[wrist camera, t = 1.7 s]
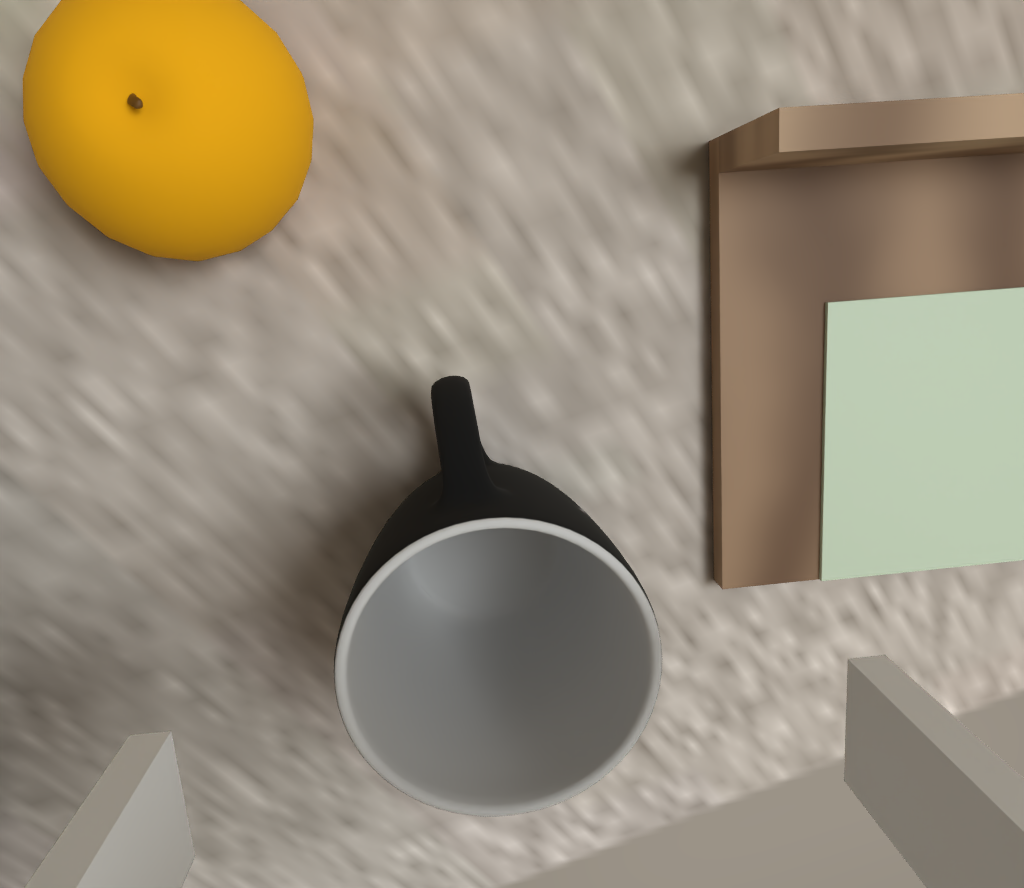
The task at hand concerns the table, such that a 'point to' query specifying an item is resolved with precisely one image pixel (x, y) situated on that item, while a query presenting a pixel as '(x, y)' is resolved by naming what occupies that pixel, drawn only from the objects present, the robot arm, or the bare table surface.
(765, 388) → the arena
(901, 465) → the pad
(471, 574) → the mug
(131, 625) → the table surface
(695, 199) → the table surface
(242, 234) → the yellow orange fruit
